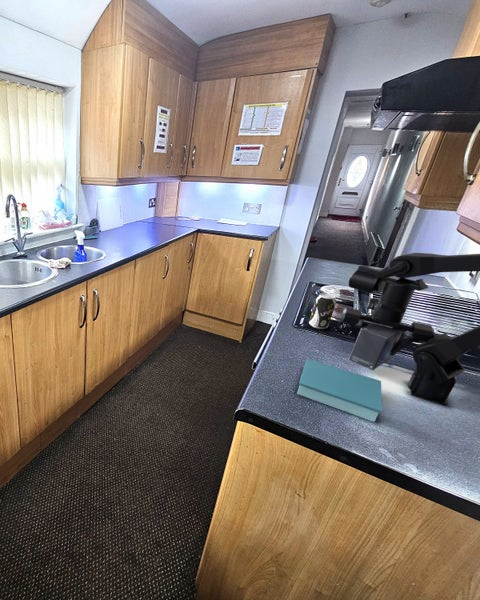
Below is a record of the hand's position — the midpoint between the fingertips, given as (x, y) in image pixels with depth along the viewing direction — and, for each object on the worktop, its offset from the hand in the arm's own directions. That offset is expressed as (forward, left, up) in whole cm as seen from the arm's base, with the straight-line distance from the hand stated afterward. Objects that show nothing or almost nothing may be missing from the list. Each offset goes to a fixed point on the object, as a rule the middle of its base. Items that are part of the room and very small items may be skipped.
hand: (373, 350), depth 93 cm
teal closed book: (+6, +20, -5) cm, 22 cm away
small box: (0, 0, -4) cm, 4 cm away
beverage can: (+14, -20, -6) cm, 25 cm away
